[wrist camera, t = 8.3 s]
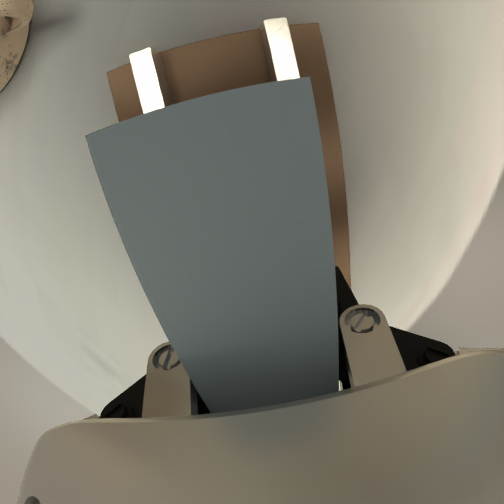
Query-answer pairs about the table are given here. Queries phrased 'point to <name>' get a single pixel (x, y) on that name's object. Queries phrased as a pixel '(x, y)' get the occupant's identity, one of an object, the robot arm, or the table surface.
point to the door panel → (232, 238)
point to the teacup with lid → (13, 35)
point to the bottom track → (241, 75)
